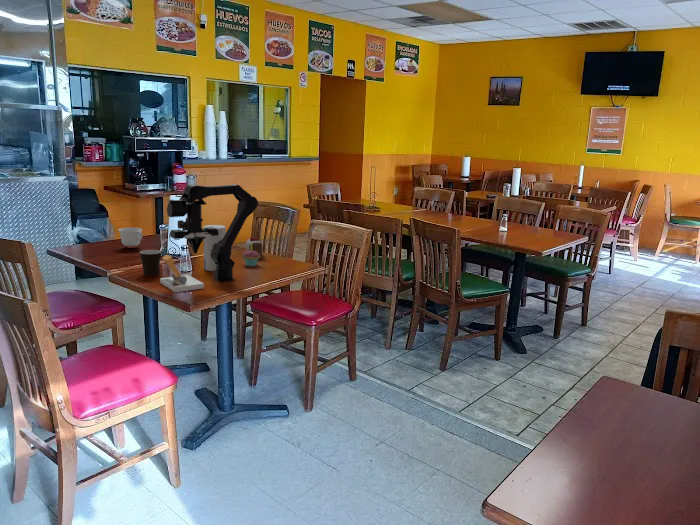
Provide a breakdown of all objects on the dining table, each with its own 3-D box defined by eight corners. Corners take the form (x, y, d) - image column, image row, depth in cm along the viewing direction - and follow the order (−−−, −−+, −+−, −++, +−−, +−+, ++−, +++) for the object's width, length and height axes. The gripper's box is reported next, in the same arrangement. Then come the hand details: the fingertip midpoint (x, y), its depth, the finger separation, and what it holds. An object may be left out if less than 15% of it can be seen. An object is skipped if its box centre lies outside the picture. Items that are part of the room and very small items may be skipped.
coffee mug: (155, 277, 239) (154, 254, 237) (137, 275, 241) (136, 253, 239) (169, 271, 250) (168, 249, 248) (151, 269, 252) (150, 248, 250)
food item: (244, 253, 294) (244, 235, 292) (259, 252, 297) (259, 234, 294) (249, 259, 281) (249, 240, 279) (264, 258, 284) (265, 239, 282)
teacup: (132, 251, 286) (131, 232, 284) (114, 247, 293) (113, 229, 291) (151, 248, 296) (151, 229, 294) (133, 244, 303) (132, 226, 301)
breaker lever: (179, 275, 230) (167, 254, 225) (184, 278, 226) (171, 257, 221) (174, 279, 229) (161, 257, 224) (179, 281, 225) (166, 260, 220)
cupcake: (261, 266, 266) (261, 242, 264) (243, 267, 263) (243, 242, 260) (257, 262, 274) (257, 238, 271) (240, 263, 271) (240, 239, 268)
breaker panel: (188, 279, 238) (187, 268, 237) (203, 288, 226) (203, 276, 225) (160, 283, 231) (160, 271, 230) (174, 292, 219) (174, 280, 218)
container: (218, 272, 252) (218, 228, 248) (199, 269, 255) (198, 226, 251) (230, 267, 261) (229, 225, 257) (211, 265, 265) (211, 223, 260)
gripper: (207, 212, 238) (208, 247, 241) (164, 214, 226) (165, 251, 230) (218, 215, 229) (219, 252, 233) (174, 218, 218) (175, 257, 221)
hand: (195, 253), depth 229 cm, fingers closed
